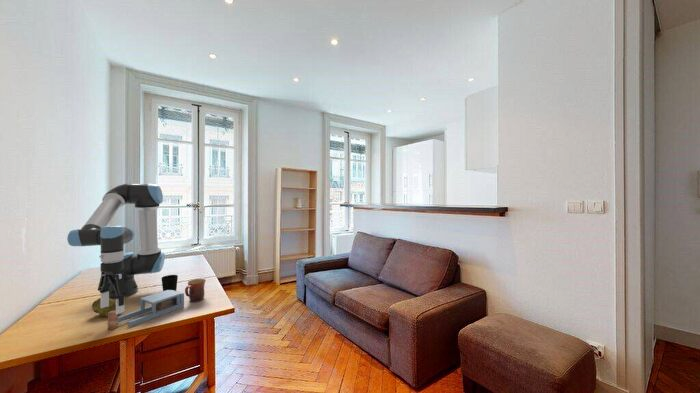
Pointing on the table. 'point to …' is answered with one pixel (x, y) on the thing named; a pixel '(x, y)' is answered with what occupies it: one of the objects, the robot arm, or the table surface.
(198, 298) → the mug
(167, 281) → the cup
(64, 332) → the table surface
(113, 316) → the wooden mallet
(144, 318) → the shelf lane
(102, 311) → the dirty green tuber
